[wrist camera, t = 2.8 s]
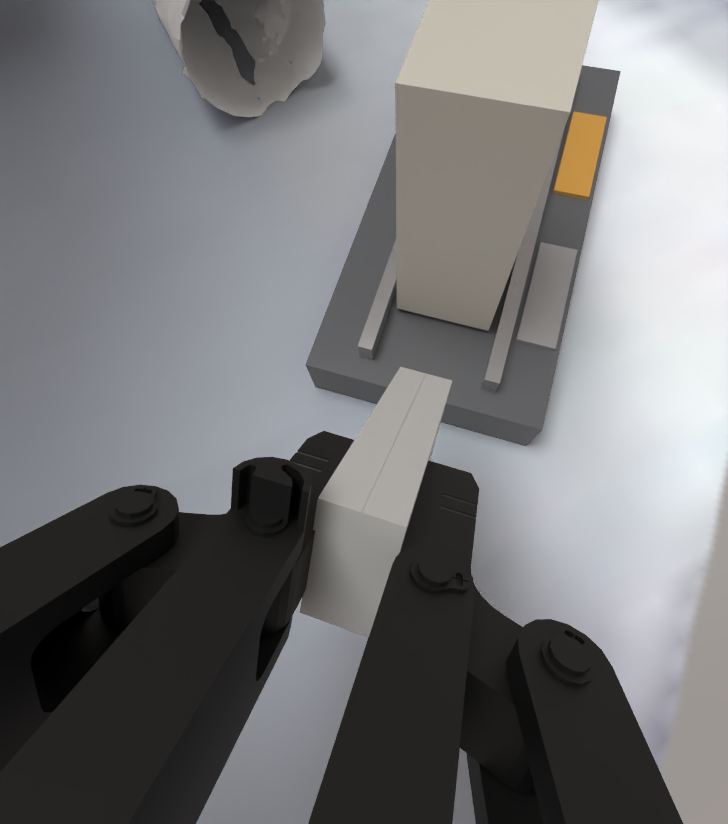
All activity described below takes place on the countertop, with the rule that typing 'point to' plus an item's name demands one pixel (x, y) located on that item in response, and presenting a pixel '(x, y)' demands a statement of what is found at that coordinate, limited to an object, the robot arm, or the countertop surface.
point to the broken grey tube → (265, 41)
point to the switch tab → (478, 144)
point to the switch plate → (517, 310)
